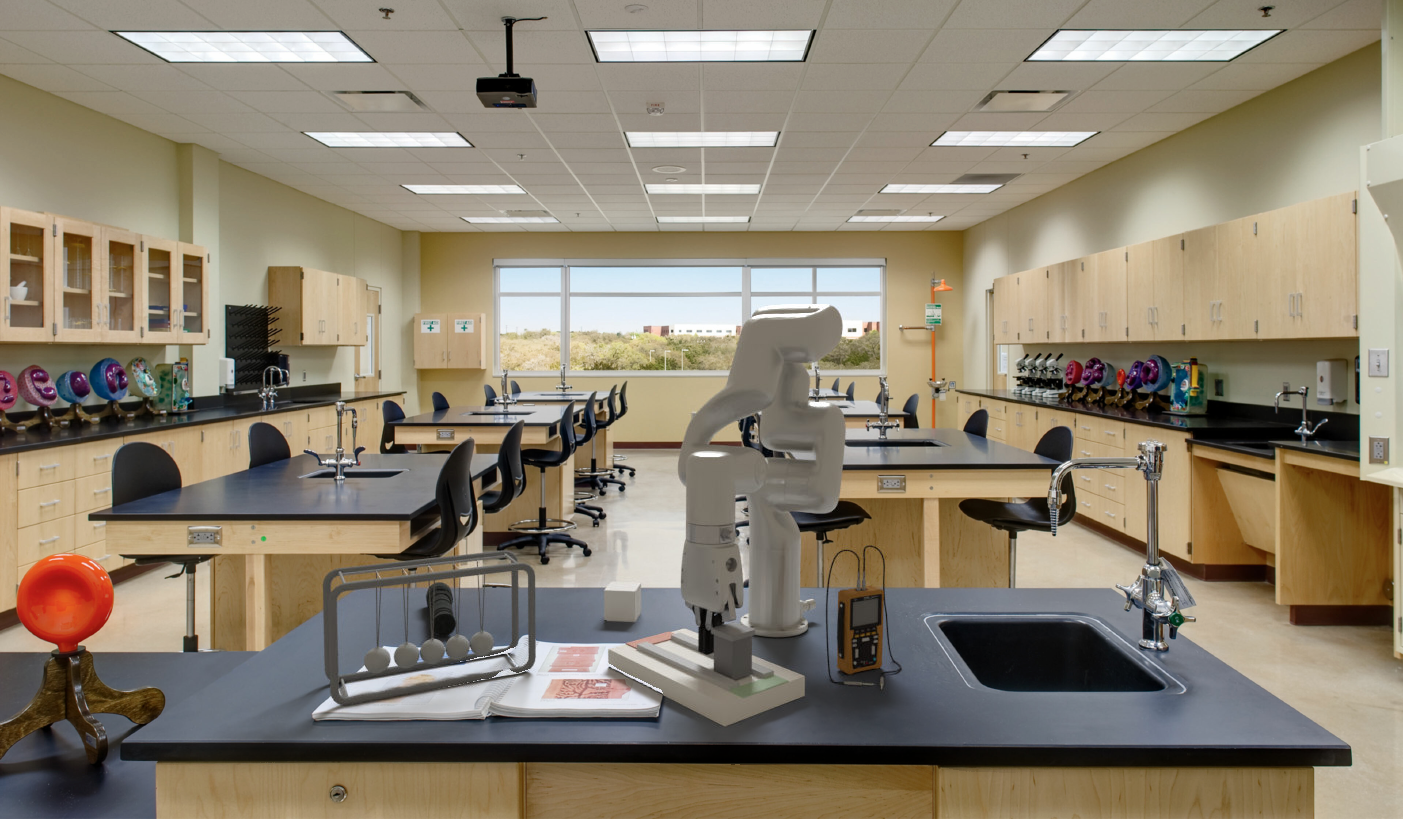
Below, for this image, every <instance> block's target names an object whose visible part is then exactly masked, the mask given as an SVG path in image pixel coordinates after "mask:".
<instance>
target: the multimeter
mask: <svg viewBox="0 0 1403 819" xmlns="http://www.w3.org/2000/svg"><path fill="white" fill-rule="evenodd" d="M867 548H874V549H876V550H877V551H878V552H879V554H880V555H881V559H882V566H883V569H882V570H883V571H882V588H880V587H877V586H873V585H872V584H871V585H867V583H866V582H867V581H866V549H867ZM843 552H849V553H853V554H854V556H855V557H856V558H857V567H858V568H857V580H856V587H853V588H847V589H846V588H845V589H840V590H839V591H838V592H837V621H836V622H837V624H836V625H837V627H836V629H837V630H836V631H837V632H836V641H837V642H836V643H837V644H836V645H837V649H836V650H837V654H836V656H837V657H836V658H837V660H836V661H837V662H836V668H837V670H839V671H842V672H843V673H846V674H847V675H853V674H855V673H859V672H865V671H869V670H872V669H874V670H878V669H880V668H881V667H882V666H883V642H884V613H885V624H886V638H887V639H886V640H887V648H888V652H889V656H890V659H891V660H892V661H894V662H893V663H895V664H896V665H897V664H898V665H899V666H898V665H897V666H898V667H899V668H898V669H896V670H891V671H890V670H889V671H882V672H881V673H880V678H879V679H880V680H879V686H880V689H881V690H883V686H884V677H883V675H884V674H892V673H893V674H894V673H897V672H899V671H902V665H901V664H900V663H898V661H896V660H895V659H894V658H893V655H892V651H891V645H890V638H889V637H890V636H889V623H888V611H887V603H886V594H885V593H886V591H885V590H886V586H885V580H886V579H885V576H886V573H885V572H886V564H885V563H886V561H885V558H884V555H883V552H882V551H881V550H880V549H879V548H878V547H877V546H874V545H866V546H865V547H864V548H863V551H862V552H863V556H862V557H863V559H862V560H863V567H862V568H863V569H862V580H861V572H860V567H861V566H860V565H861V564H860V563H861V562H860V561H861V560H860V557H859V555H858V554H857V553H856V552H855V551H854V550H851V549H842V550H840V551H838V552H837V553H836V555H834V557H833V559H832V561H831V565H830V568H829V571H828V572H829V573H828V578H827V585H826V594H825V595H826V596H825V597H826V598H825V601H826V602H825V632H826V634H825V635H826V637H825V638H826V658H827V669H828V670H827V671H828V677H829V679H830V681H831V682H832V683H834V684H840V685H848V686H849V685H850V686H861V687H862V686H863V685H864V686H865V685H866V686H875V685H876V684H874V683H866V682H865V683H864V682H863V681H835V680H833V677H832V675H831V667H830V651H829V649H830V648H829V624H828V622H829V621H828V606H829V588H830V581H831V580H830V579H831V576H832V575H831V573H832V570H833V566H834V563H835V561H836V559H837V557H838V556H839V555H840V554H841V553H843Z"/></svg>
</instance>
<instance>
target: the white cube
mask: <svg viewBox="0 0 1403 819" xmlns="http://www.w3.org/2000/svg"><path fill="white" fill-rule="evenodd" d="M603 594H604V596H603V601H604V602H603V608H604V609H603V610H604V611H603V615H604V616H603V617H604V618H603V621H604V620H607V621H606V622H623V623H624V622H627V623H636V622H637V620H638V618H639V617H640V615H641V614H642V582H631V581H629V582H628V581H625V582H624V581H610V583H609V584H608V585H607V586H606V587H605V588H604V590H603Z"/></svg>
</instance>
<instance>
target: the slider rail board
mask: <svg viewBox="0 0 1403 819" xmlns="http://www.w3.org/2000/svg"><path fill="white" fill-rule="evenodd" d="M607 650H608V651H607V662H608V663H609V664H611V665H613V666H614V667H616V668H617V669H619V670H621V671H623V672H625V673H627V674H629V675H631V676H633V677H635V678H638V679H640V680H642V681H644V682H646V683H648V684H650V685H652V686H653V687H656V688H659V689H661V690H662V692H663V695H662V696H663V697H666V698H668V699H669V700H672V701H674V702H676V703H678V704H680V705H681V706H684V707H686V708H687V709H689V710H692V711H694V712H695V713H697V714H700V715H701V716H703V717H705V718H707V719H709V720H711V721H713V722H715V723H717V724H719V725H721V726H723V727H727V726H730V725H732V724H733V725H734V724H735V723H737V722H739V721H740V722H741V721H743V720H746V719H748V718H750V717H751V718H752V717H753V716H755V715H759V714H761V713H763V712H766V711H769V710H771V709H775V708H776V707H779V706H782V705H785V704H787V703H789V702H792V701H794V700H797V699H800V698H802V697H805V695H806V694H805V693H806V692H805V691H806V690H805V689H806V687H805V686H806V681H805V680H806V677H805V675H804V674H801V673H798V672H796V671H793V670H790V669H788V668H785V667H783V666H780V665H778V664H776V663H773V662H771V661H767V660H766V659H763V658H761V657H758V656H756V655H753V654H752V675H749V676H746V677H743V678H740V679H737V680H733V679H730V678H728V677H726V676H724V675H721V674H719V673H717V672H715V671H714V653H712V654H709V655H705V654H703V653H700V652H699V651H698V632H694V631H692V630H690V629H687V628H680V629H677V630H673V631H665V632H662V633H659V634H655V635H650V636H647V637H643V638H640V639H636V640H633V641H628V642H625V644H622V645H618V646H614V647H610V648H608V649H607ZM608 663H607V664H608Z"/></svg>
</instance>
